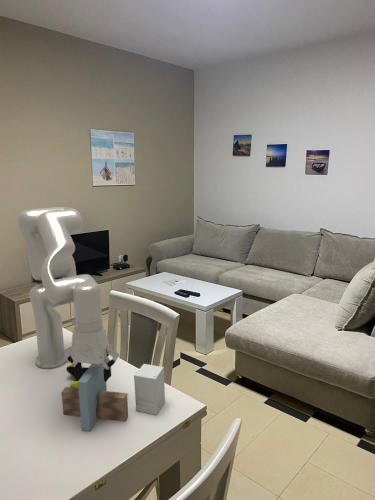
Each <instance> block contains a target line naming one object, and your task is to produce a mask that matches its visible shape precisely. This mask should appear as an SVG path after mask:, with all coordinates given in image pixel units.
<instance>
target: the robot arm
mask: <svg viewBox="0 0 375 500" xmlns="http://www.w3.org/2000/svg"><path fill="white" fill-rule="evenodd" d="M83 221H84V220H83V217H82V215H81V213H80V211H78V210H77V209H75V208H73V207H67V206H54V207H53V206H52V207H40V208H39V207H37V208H29V209H26V210H22V211H21V212H20V213H19V214H18V215H17V224H18V228H19V231H20V233H21V236H22V237H23V239H24V242H25V243H26V248H27V257H28V262H29V263H28V264H29V269H30V274H31V277H32V278H33V279H34V280H35V281H41V283H39V284H36V285H34V286H33V287H31V289H30V291H29V294H28V295H29V300H30V303H31V307H32V311H33V315H34V325H35V333H36V342H37V352H38V353H37V354H38V355H37V357H35V359H34V364H35V366H36V367H39V368H40V369H54V368H58V367H60V366H63V365H65V364H66V363H67V362H68V361H69V364H72V366H73V367H74V374H75V378H76V379H78V378H79V377H80V376H81V374H82V366H83V365H82V364H90V365H91V364H102V365H103V366H104V370H103V372H104V381H105V382H106V383H107V382H108V380H109V379H110V378H111V376H112V366H113V365H115V363H116V362H117V360H118V359H119V357H120V353H119V352H117V351H115V350H113V348H110V345H109V337H108V334H107V330H106V328H105V326H103V312H102V297H101V296H102V294H101V285H100V284H99V283H98V282H96V280H95V279H94V278H93V276H91V275H90V274H88V273H87V274H86V273H85V274H79V275H77V270H76V261H75V259H74V257H73V254H74V253H75V251H76V245H75V243H74V241H73V238H72V236H71V235H72V234H78V233H81V232H82V231H83V228H84V222H83ZM57 278H58V279H57ZM71 303H73V309H74V310H73V311H74V318H72V319H71V320H70V322H71V323H70V324H71V325H72V324H73V325H74V328H73V330H72V337H71V346H69V347H68V348H67V349H65V342H64V332H63V331H64V330H63V320H62V314H60V312H58V311H57V310H56V309H54V308H56V307H59V306H63V305H68V304H71ZM109 356H110V357H112V359H110V358H109Z"/></svg>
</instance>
